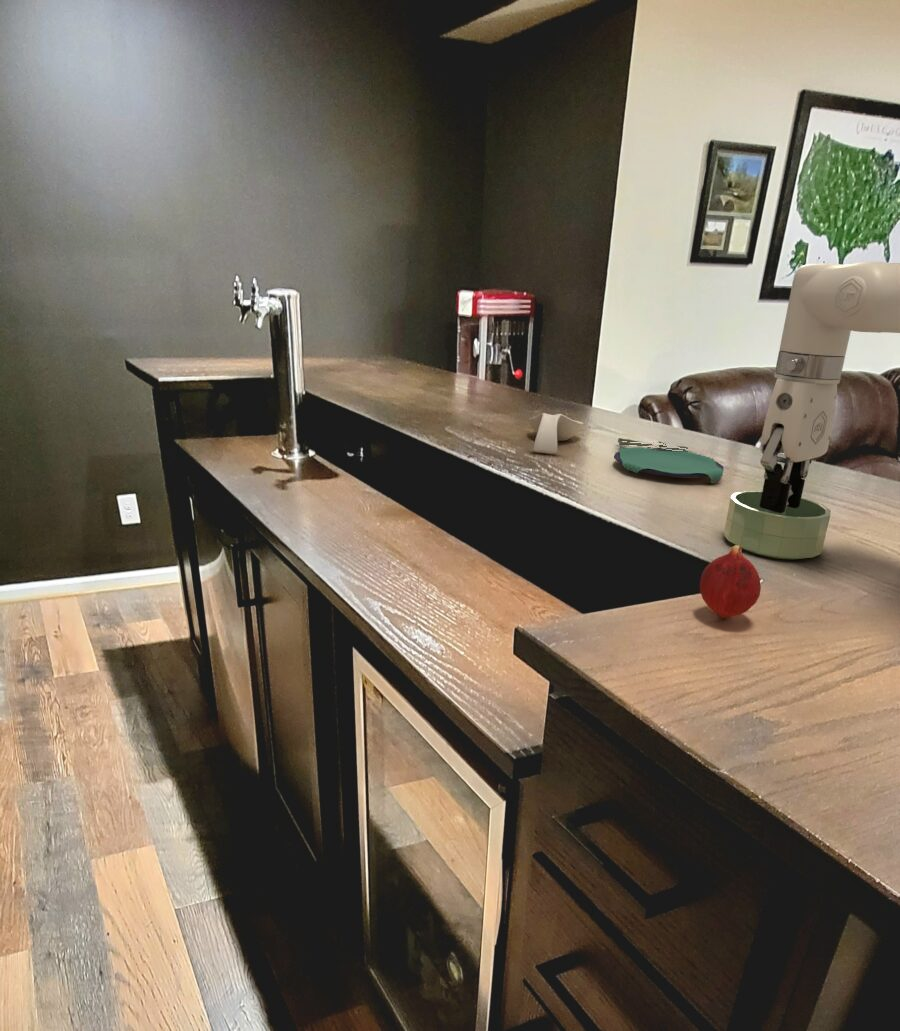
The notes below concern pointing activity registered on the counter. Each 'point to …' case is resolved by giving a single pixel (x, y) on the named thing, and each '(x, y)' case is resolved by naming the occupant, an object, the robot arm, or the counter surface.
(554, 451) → the spoon rest
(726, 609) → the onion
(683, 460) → the cutlery set
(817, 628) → the counter surface
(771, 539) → the green round tub
